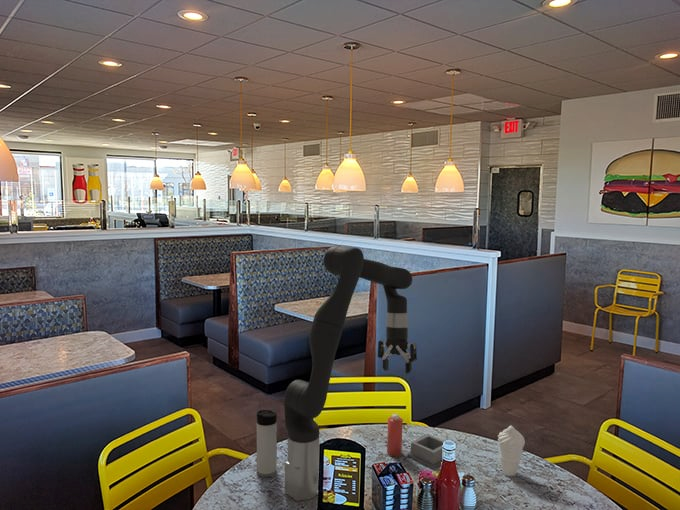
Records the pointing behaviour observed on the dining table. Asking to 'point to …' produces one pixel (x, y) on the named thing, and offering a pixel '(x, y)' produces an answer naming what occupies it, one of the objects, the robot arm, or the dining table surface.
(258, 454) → the travel mug
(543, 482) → the dining table surface
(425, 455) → the box
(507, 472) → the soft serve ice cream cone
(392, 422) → the squeeze bottle
